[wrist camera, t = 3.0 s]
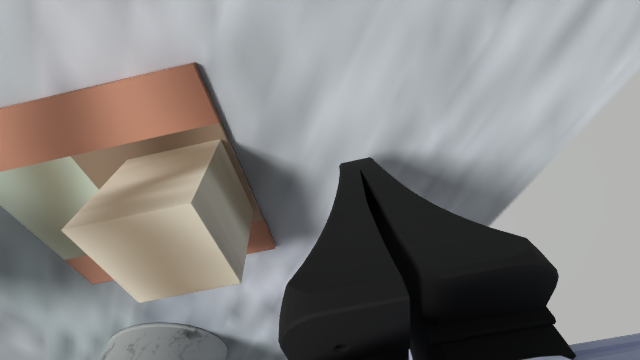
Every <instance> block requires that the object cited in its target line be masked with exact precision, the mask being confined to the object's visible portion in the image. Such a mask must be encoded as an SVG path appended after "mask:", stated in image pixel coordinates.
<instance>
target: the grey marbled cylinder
mask: <svg viewBox="0 0 640 360" xmlns="http://www.w3.org/2000/svg"><path fill="white" fill-rule="evenodd" d="M226 358H227V347H226V345H225V343H224V342H223V341H222V340H221V339H220V338H219V337H217V336H215V335H214V334H212V333H210V332H208V331H206V330H203V329H201V328H197V327H193V326H189V325H184V324H177V323H146V324H140V325H135V326H131V327H128V328H126V329H123V330H121V331H119V332H118V333H116V334H115V335H113V337H112V338H111V339H110V341H109V342H108V346H107V349H106V351H105V353H104V355H103V357H102V359H101V360H225V359H226Z"/></svg>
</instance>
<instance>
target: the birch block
mask: <svg viewBox="0 0 640 360" xmlns="http://www.w3.org/2000/svg"><path fill="white" fill-rule="evenodd" d="M253 212H254V211H253V209H252V206H251V204H250V202H249V200H248V198H247V196H246V193H245V191H244V189H243V187H242V185H241V182H240V180H239V178H238V176H237V174H236V172H235V169H234V167H233V165H232V163H231V161H230V159H229V156H228V154H227V152H226V150H225V148H224V146H223V143H222V141H221V139H219V140H215V141H210V142H205V143H201V144H196V145H192V146H187V147H183V148H178V149H174V150H169V151H165V152H160V153H155V154H151V155H146V156H142V157H137V158H133V159H128V160H126V162H125V163H124V164H123V165H122V166H121V167H120V168H119V169H118V170H117V171H116V172H115V173H114V174H113V175H112V176H111V178H110V179H109V180H108V181H107V182H106V183H105V184H104V185H103V186H102V187H101V188H100V189H99V190H98V191H97V192H96V194H95V195H94V196H93V197H92V198H91V199H90V200H89V201H88V202H87V203H86V204H85V205H84V206H83V207H82V208H81V209H80V211H79V212H78V213H77V214H76V215H75V216H74V217H73V218H72V219H71V220H70V221H69V222H68V223H67V224H66V225H65V227H64V228H63V229H62V230H61V231H62V232H63V233H65V234H66V235H67V236H68V237H69V238H70V239H71V240H72V241H73V242H74V243H75V244H76V245H77V246H78V247H80V248H81V249H82V250H83V251H84V252H85V253H86V254H87V255H88V256H89V257H90V258H91V259H92V260H94V261H95V262H96V263H97V264H98V265H99V266H100V267H101V268H102V269H103V270H104V271H105V272H106V273H108V274H109V275H110V276H111V277H112V278H113V279H114V280H115V281H116V282H117V283H118V284H119V285H120V286H122V287H123V288H124V289H125V290H126V291H127V292H128V293H129V294H130V295H131V296H132V297H133V298H134V299H135V300H137V301H138V302H139V303H141V302H146V301H151V300H156V299H162V298H167V297H172V296H177V295H182V294H188V293H193V292H198V291H203V290H209V289H214V288H219V287H224V286H229V285H235V284H240V283H241V281H242V275H243V269H244V264H245V258H246V252H247V246H248V241H249V235H250V229H251V223H252V218H253Z"/></svg>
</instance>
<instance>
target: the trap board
mask: <svg viewBox="0 0 640 360" xmlns="http://www.w3.org/2000/svg"><path fill="white" fill-rule="evenodd" d="M219 139H221V141H222V143H223V146H224V148H225V150H226V152H227V154H228V156H229V159H230V161H231V163H232V165H233V167H234V169H235V172H236V174H237V176H238V178H239V180H240V182H241V185H242V187H243V189H244V191H245V193H246V196H247V198H248V200H249V202H250V204H251V206H252V209H253V211H254V212H253V218H252V223H251V229H250V235H249V241H248V246H247V252H246V254H250V253H255V252H260V251H265V250H270V249H275V243H274V240H273V238H272V236H271V234H270V231H269V229H268V227H267V224H266V222H265V220H264V218H263V215H262V213H261V211H260V209H259V206H258V204H257V202H256V199H255V197H254V195H253V193H252V190H251V188H250V186H249V184H248V181H247V179H246V177H245V174H244V172H243V170H242V168H241V165H240V163H239V161H238V159H237V156H236V154H235V152H234V149H233V147H232V145H231V143H230V140H229V138H228V136H227V134H226V131H225V129H224V127H223V124H222V122H221V120H220V118H219V115H218V113H217V111H216V109H215V106H214V104H213V102H212V99H211V97H210V95H209V93H208V90H207V88H206V86H205V84H204V81H203V79H202V77H201V74H200V72H199V70H198V68H197V65H196V63H195V62H194V63H190V64H185V65H181V66H177V67H173V68H168V69H164V70H160V71H156V72H151V73H147V74H143V75H139V76H134V77H130V78H126V79H122V80H117V81H113V82H109V83H105V84H101V85H96V86H92V87H88V88H84V89H79V90H75V91H71V92H67V93H62V94H58V95H54V96H50V97H45V98H41V99H37V100H33V101H28V102H24V103H20V104H16V105H12V106H7V107H3V108H0V206H2V207H3V208H4V209H5V210H6V211H7V212H9V213H10V214H11V215H12V216H13V217H14V218H16V219H17V220H18V221H19V222H20V223H21V224H23V225H24V226H25V227H26V228H27V229H28V230H30V231H31V232H32V233H33V234H34V235H35V236H37V237H38V238H39V239H40V240H41V241H43V242H44V243H45V244H46V245H47V246H48V247H50V248H51V249H52V250H53V251H54V252H55V253H57V254H58V255H59V256H60V257H61V258H62V259H64V260H65V261H66V262H67V263H68V264H69V265H71V266H72V267H73V268H74V269H75V270H77V271H78V272H79V273H80V274H81V275H82V276H84V277H85V278H86V279H87V280H88V281H89V282H91V283H92V284H98V283H103V282H108V281H113V280H114V279H113V278H112V277H111V276H110V275H109V274H108V273H106V272H105V271H104V270H103V269H102V268H101V267H100V266H99V265H98V264H97V263H96V262H95V261H94V260H92V259H91V258H90V257H89V256H88V255H87V254H86V253H85V252H84V251H83V250H82V249H81V248H80V247H78V246H77V245H76V244H75V243H74V242H73V241H72V240H71V239H70V238H69V237H68V236H67V235H66V234H65V233H63V232H62V231H61V230H62V229H63V228H64V227H65V225H66V224H67V223H68V222H69V221H70V220H71V219H72V218H73V217H74V216H75V215H76V214H77V213H78V212H79V211H80V209H81V208H82V207H83V206H84V205H85V204H86V203H87V202H88V201H89V200H90V199H91V198H92V197H93V196H94V195H95V194H96V192H97V191H98V190H99V189H100V188H101V187H102V186H103V185H104V184H105V183H106V182H107V181H108V180H109V179H110V178H111V176H112V175H113V174H114V173H115V172H116V171H117V170H118V169H119V168H120V167H121V166H122V165H123V164H124V163H125V162H126V160H128V159H133V158H137V157H142V156H146V155H151V154H155V153H160V152H165V151H169V150H174V149H178V148H183V147H187V146H192V145H196V144H201V143H205V142H210V141H215V140H219Z"/></svg>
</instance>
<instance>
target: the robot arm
mask: <svg viewBox="0 0 640 360" xmlns="http://www.w3.org/2000/svg"><path fill="white" fill-rule="evenodd" d="M339 168H340V177H339V184H338V189H337V194H336V197H335V201H334V204H333V207H332V210H331V213H330V216H329V218H328V220H327V223H326V225H325V227H324V229H323V231H322V233H321V235H320V237H319V239H318V241H317V243H316V244H315V246H314V247H313V249H312V251H311V252H310V254H309V255H308V257H307V258H306V260H305V261H304V263H303V264H302V266H301V267H300V268H299V270H298V271H297V272H296V273H295V275H294V276H293V277H292V279H291V280H290V281H289V282H288V284H287V286H286V289H285V293H284V297H283V301H282V306H281V312H280V319H279V344H280V347H281V349H282V351H283V352H284V354H285V356H286V357H287V359H288V360H640V333H639V334H633V335H627V336H621V337H615V338H609V339H603V340H597V341H592V342H585V343H579V344H574V345H568V344H567V343H566V341H565V340H564V339H563V337H562V336H561V335H560V334H559V332H558V331H557V329H556V328H555V327H554V326H553V324H555V322H556V320H555V317H554V316H553V315H552V314H551V312H550V311H549V310H548V308H547V307H546V305H547V303H548V301H549V299H550V297H551V295H552V293H553V292H554V290H555V288H556V285H557V281H558V277H559V276H558V273H557V269H556V268H555V267H554V266H553V265H552V264H551V263H550V262H549V261H548V260H547V258H546V257H545V256H544V255H543V254H542V253H541V252H540V251H539V250H538V249H537V248H536V247H535V246H534V245H533V244H532V243H531V242H530V241H529V240H528V239H527V238H524V237H521V236H517V235H514V234H510V233H507V232H503V231H500V230H497V229H493V228H490V227H487V226H484V225H481V224H479V223H476V222H473V221H470V220H468V219H465V218H463V217H460V216H458V215H456V214H453V213H451V212H449V211H447V210H444V209H442V208H440V207H438V206H436V205H434V204H432V203H431V202H429V201H427V200H425V199H423V198H422V197H420V196H418V195H417V194H415V193H414V192H412V191H411V190H409V189H408V188H406V187H405V186H404V185H402V184H401V183H400V182H398V181H397V180H396V179H395V178H393V177H392V176H391V175H390V174H388V173H387V172H386V171H385V170H384V169H383V168H382V167H380V166H379V165H378V164H377V163H376V162H375V161H374V160H373V159H372V158H370V157H369V158H365V159H360V160H355V161H350V162H346V163H341V165H340V166H339Z"/></svg>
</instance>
